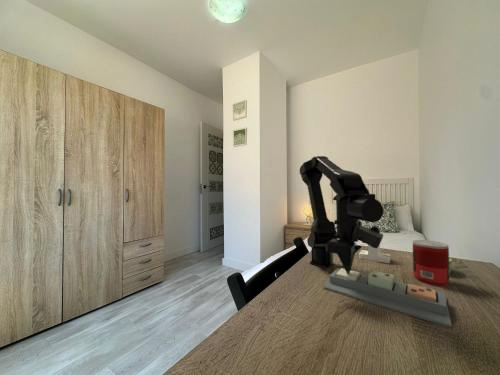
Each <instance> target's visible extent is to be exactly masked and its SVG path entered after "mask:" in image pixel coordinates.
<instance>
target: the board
mask: <svg viewBox="0 0 500 375" xmlns="http://www.w3.org/2000/svg"><path fill="white" fill-rule="evenodd" d="M340 269H341V268H339V267H337V268H336V269H335V270H334V271H333V272H331V274H329V281H327V282H326V283H325V284H324V285H323V289H324V290H328V291H331V292H334V293H336V294H337V293H339V294H341V295H344V296H348V297H350V298H354V299H356V300H360V301H363V302H367V303H370V304H374V305H377V306H380V307H383V308H386V309H390V310H392V311H395V312H400V313H402V314H406V315H408V316H412V317H415V318H418V319H421V320H425V321H428V322H431V323H435V324H436V325H437V324H438V325H441V326H445V327H447V328H451V329H452V326H453V325H452V321H451V316H450V313H449V307H448V301H447V298H446V295H445V294H444V292H443V291H438V290H435V293H436V302H433V301H429V300H425V299H422V298H418V297H414V296H410V295H407V289H408V284H409V283H404V282H400V281H396V280H394V285H393V288H392V291H391V290H387V289H383V288H379V287H375V286H372V285H368V276H369V274H366V273H365V274H364V273H361V272H360V278H359V279H358V281H357V282H356V281H352V280H349V279H345V278H341V277H337V276H336V273H337V272H338V271H339V270H340Z"/></svg>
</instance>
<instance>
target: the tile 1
mask: <svg viewBox="0 0 500 375" xmlns="http://www.w3.org/2000/svg"><path fill="white" fill-rule="evenodd" d="M360 273H361V272H360V271H355V270H352V269H351V271H350V272H346V271H345V269H344V267H343V268H342V267H341V268H340V270H339V271H338V272H337V273H336V276H337V277H341V278H345V279H349V280H352V281H356V282H357V281H358V279H359V278H360Z"/></svg>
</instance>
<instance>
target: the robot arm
mask: <svg viewBox="0 0 500 375" xmlns="http://www.w3.org/2000/svg"><path fill="white" fill-rule="evenodd" d="M299 175H300V176H301V180H302V182H304V184H305V185H306V186H307V190H308V191H307V192H308V196H309V202H310V207H311V213H312V219H313V222H312V224H311V227H310V234H309V235H308V237H307V240H306V241H307V246H308V247H309V248H311V261H309V264H310V265H314V266H318V267H322V268H329V267H330V266H332V265H333V264H334V254H336V255H337V257H338V258H339V261H340V262H341V265H342V266H343V269H345V271H346V272H350V271H351V270H352V267H353V262H354V259H355V255H356V253H357V252H358V251H359V250H360V249H362V247H363V246H362V245H357V243H358V242H359V241H360V242H362V243H363V244H367V246H368V245H370V246H371V247H373V248H378V246H379V245H380V246H381V243H382V240H383V237H384V234H383V233H381V229H380V227H378V226H376V225H373V226H372V227H370V228H369V227H365V226H363V225H362V221H363V222H367V223H377V222H378V221H380V220H381V219H382V217H383V215H384V212H385V211H384V210H385V209H384V207H383V205H382V203H381V202H380V200H378V199H376V194H375V193H370V191H369V189H368V188H367V186H366V184H365V183H364V180H363V178H362V176H361V175H360V174H359V173H357V172H354V171H350V170H345V169H343V168H341V167H340V166H338V164H335V163H334V162H332V161H331V160H330V159H329V157H328V156H325V155H320V156H319V155H315V156H313V157H311V159H310V160H307V161H304V162H303V163H302V164H301V166H300V167H299ZM323 175H324V176H325V177H326V178H327V179H328V180H329V181H330V183H329V186H330V188H331V189H332V190H333V192H335V194H336V195H335V196H334V197H333V198H332V200H333V201H336V202H335V204H336V205H335V206H336V213H335V214H336V219H335V220H334V221H333V220H332V221H331V220H330V219H329V218H328V215H327V210H326V206H325V201H324V200H325V199H324V195H323V192H322V186H321V180H322V178H323Z"/></svg>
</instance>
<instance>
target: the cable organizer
mask: <svg viewBox="0 0 500 375" xmlns="http://www.w3.org/2000/svg"><path fill="white" fill-rule="evenodd" d="M358 255H359V256H358V257H359V259H363V260H367V261H373V262H380V263H385V264H391V254H387V253H382V252H381V244H380V245H379V246H378V248H373V247H371V246H370V245H368V244H367V250H362V249H361V250H360V251H359V254H358Z"/></svg>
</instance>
